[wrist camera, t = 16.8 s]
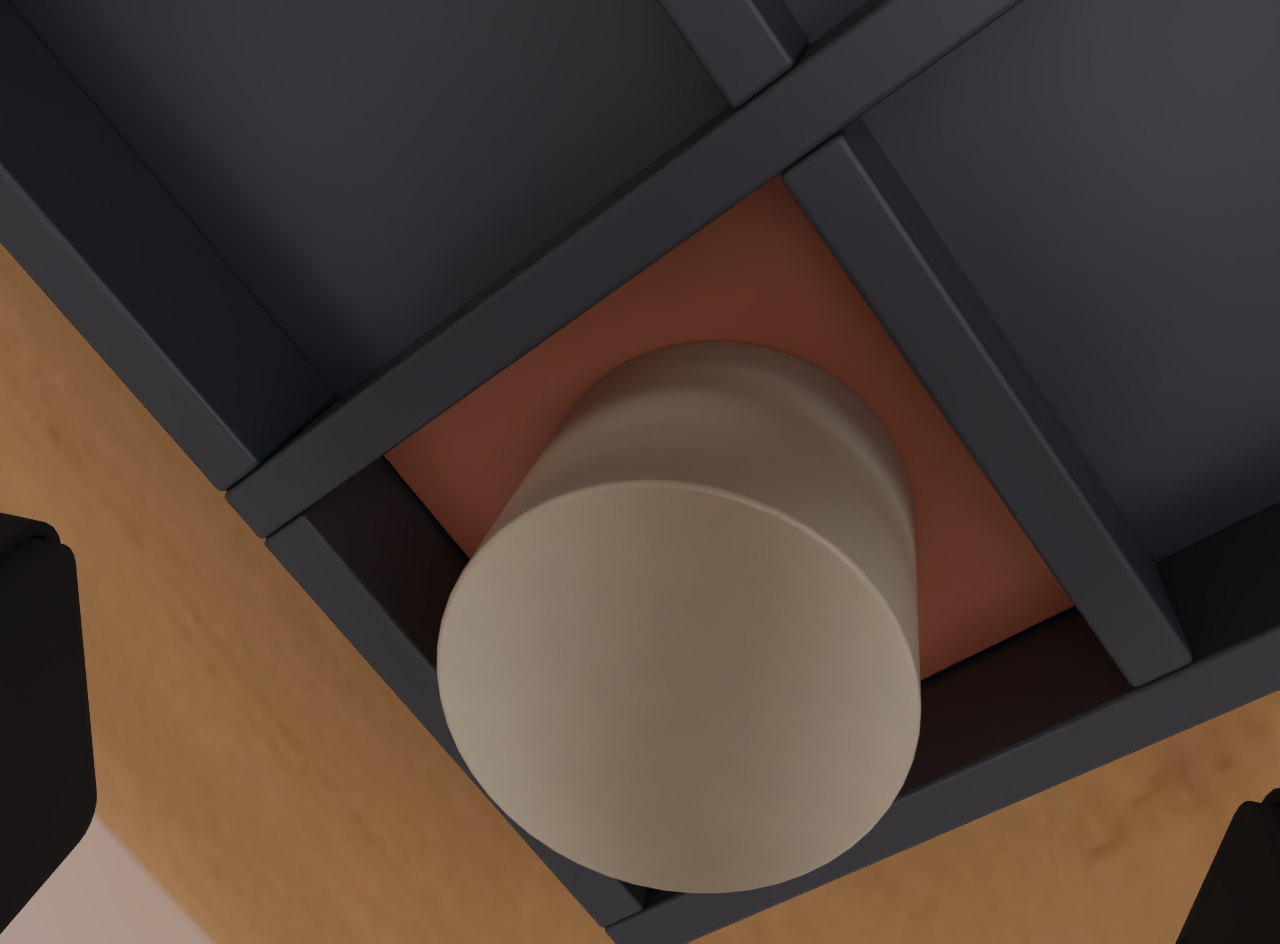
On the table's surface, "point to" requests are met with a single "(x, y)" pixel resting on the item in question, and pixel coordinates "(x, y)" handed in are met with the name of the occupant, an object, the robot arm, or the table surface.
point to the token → (695, 626)
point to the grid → (709, 311)
